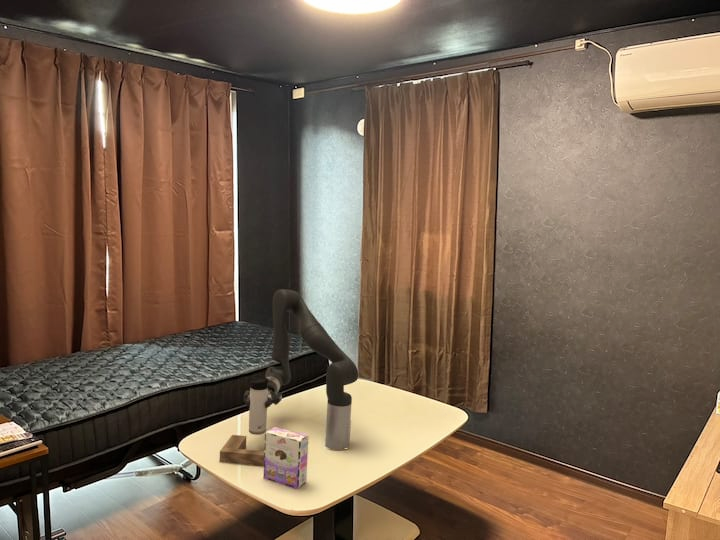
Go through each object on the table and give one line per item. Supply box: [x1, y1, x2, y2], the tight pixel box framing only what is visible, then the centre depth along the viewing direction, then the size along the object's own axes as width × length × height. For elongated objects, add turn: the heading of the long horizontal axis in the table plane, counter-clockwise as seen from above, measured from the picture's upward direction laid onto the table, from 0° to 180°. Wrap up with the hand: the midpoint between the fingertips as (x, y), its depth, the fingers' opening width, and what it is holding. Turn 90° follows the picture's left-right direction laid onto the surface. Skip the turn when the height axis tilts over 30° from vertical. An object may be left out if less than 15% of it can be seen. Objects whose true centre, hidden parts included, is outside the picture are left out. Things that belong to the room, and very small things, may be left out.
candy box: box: [263, 426, 309, 490], centre depth 180 cm, size 14×6×16 cm, turn 65°
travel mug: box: [248, 376, 269, 436], centre depth 196 cm, size 6×7×20 cm
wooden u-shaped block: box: [218, 434, 264, 467], centre depth 197 cm, size 22×14×4 cm, turn 86°
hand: (257, 404), depth 194 cm, fingers closed on travel mug, 6 cm apart
